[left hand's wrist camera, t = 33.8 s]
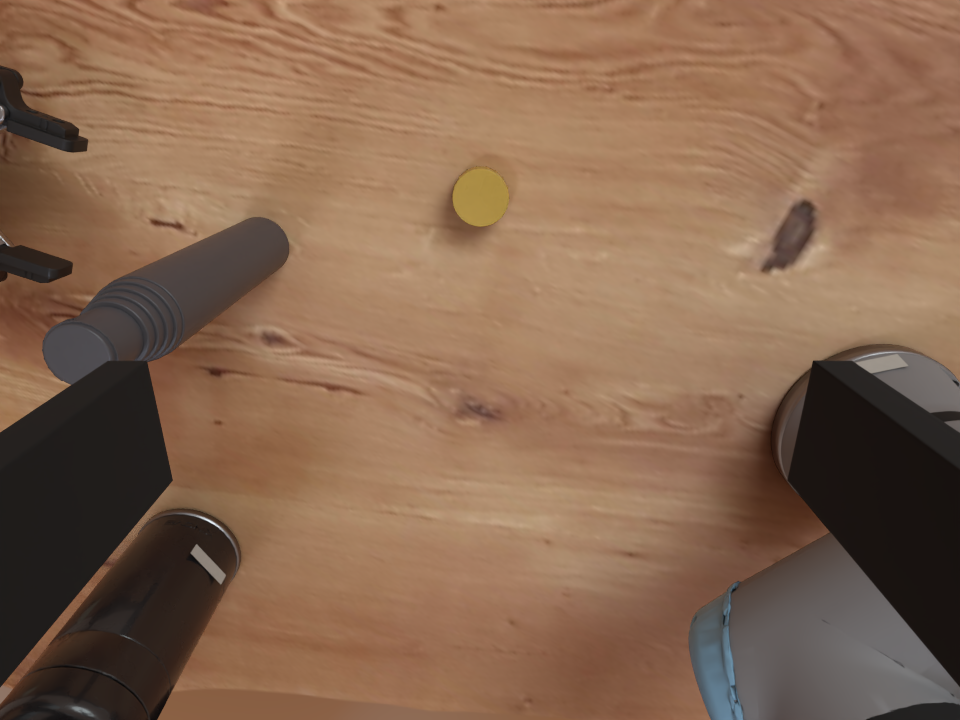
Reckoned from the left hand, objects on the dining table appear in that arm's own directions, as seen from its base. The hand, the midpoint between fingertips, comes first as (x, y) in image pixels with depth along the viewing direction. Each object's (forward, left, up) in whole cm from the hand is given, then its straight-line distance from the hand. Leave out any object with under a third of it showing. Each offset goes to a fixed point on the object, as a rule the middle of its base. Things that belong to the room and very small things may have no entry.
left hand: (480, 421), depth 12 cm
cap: (0, 0, -34) cm, 35 cm away
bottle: (-3, +17, -36) cm, 40 cm away
